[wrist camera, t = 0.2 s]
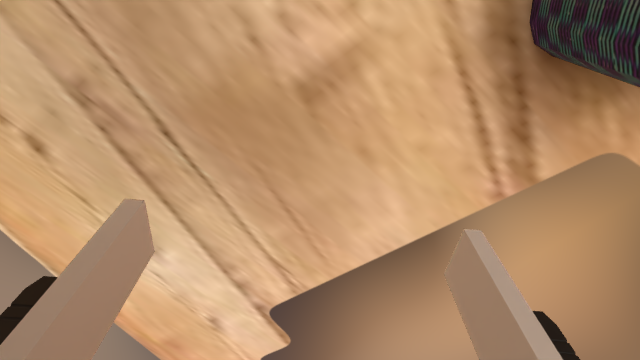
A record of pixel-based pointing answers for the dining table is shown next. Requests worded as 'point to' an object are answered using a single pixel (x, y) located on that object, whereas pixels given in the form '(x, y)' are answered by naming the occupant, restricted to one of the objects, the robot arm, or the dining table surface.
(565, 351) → the robot arm
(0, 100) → the dining table surface
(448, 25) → the dining table surface
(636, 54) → the basket
